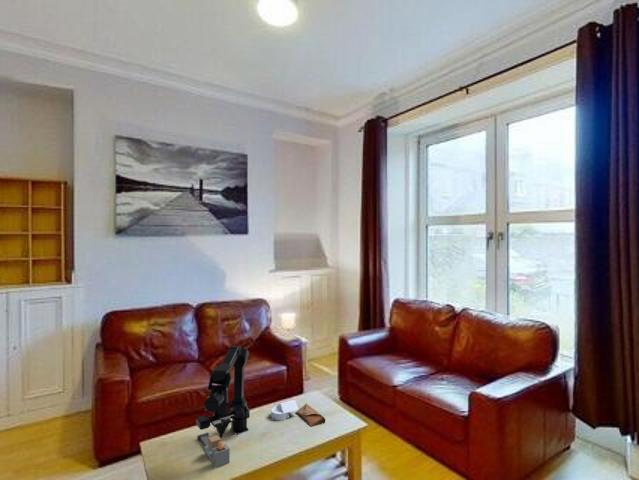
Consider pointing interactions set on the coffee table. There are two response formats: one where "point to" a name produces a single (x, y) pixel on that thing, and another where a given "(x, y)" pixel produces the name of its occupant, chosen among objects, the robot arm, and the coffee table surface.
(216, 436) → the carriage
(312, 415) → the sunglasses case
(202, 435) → the rail
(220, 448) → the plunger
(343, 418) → the coffee table surface
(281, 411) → the wedge on round base
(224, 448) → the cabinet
